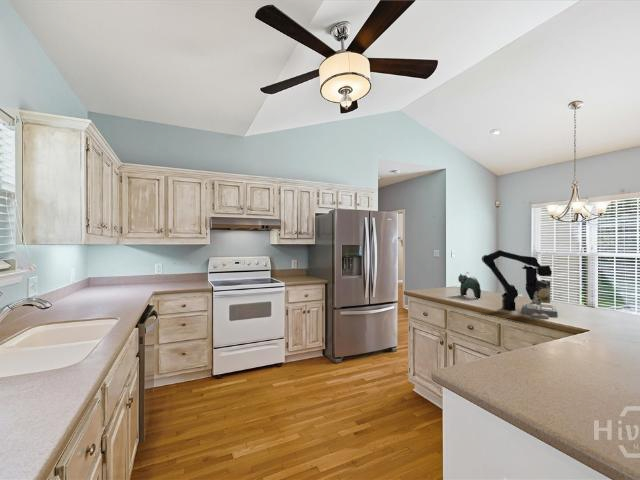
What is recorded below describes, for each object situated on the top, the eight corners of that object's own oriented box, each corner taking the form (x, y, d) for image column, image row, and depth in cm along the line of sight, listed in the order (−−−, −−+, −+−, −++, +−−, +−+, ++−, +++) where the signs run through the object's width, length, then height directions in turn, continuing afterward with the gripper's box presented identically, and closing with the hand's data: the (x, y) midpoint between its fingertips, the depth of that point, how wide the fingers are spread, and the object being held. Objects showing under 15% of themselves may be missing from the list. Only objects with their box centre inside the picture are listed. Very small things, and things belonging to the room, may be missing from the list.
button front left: (526, 308, 188) (526, 304, 188) (526, 307, 192) (526, 303, 192) (536, 309, 185) (536, 305, 185) (536, 308, 189) (536, 304, 189)
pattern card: (531, 317, 177) (531, 314, 177) (531, 314, 184) (531, 312, 184) (548, 318, 173) (548, 316, 173) (547, 316, 179) (547, 313, 179)
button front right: (541, 312, 184) (541, 308, 184) (541, 310, 188) (541, 307, 188) (552, 313, 181) (552, 309, 181) (551, 311, 185) (551, 308, 185)
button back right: (541, 307, 190) (541, 304, 190) (541, 306, 194) (540, 302, 194) (551, 308, 187) (551, 304, 187) (550, 307, 191) (550, 303, 191)
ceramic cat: (457, 295, 253) (457, 271, 253) (464, 294, 255) (463, 271, 255) (476, 299, 234) (476, 273, 234) (483, 298, 236) (482, 273, 236)
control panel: (522, 313, 187) (522, 308, 187) (522, 307, 202) (522, 303, 202) (557, 316, 177) (557, 311, 177) (555, 311, 192) (555, 306, 192)
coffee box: (537, 304, 214) (536, 281, 214) (531, 302, 220) (531, 280, 220) (551, 304, 213) (550, 281, 213) (545, 302, 219) (544, 280, 219)
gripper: (547, 278, 183) (548, 303, 182) (546, 275, 198) (546, 298, 198) (525, 277, 189) (525, 302, 189) (525, 274, 204) (526, 297, 204)
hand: (531, 300), depth 195 cm, fingers closed
